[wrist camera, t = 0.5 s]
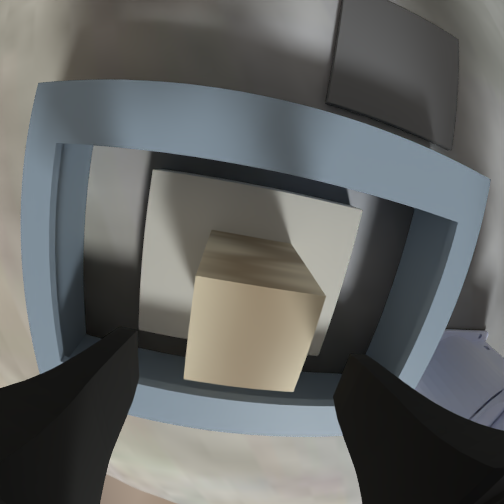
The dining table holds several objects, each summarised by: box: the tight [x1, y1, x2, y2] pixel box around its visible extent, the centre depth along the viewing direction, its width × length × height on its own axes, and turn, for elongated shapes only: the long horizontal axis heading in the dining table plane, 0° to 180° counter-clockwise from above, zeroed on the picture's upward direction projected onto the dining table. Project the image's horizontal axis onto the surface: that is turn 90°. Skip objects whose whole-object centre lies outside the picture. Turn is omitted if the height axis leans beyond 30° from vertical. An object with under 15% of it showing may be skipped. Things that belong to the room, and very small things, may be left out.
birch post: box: [184, 230, 326, 392], centre depth 14 cm, size 4×4×7 cm
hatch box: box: [21, 80, 491, 437], centre depth 16 cm, size 24×18×6 cm
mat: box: [326, 0, 459, 150], centre depth 16 cm, size 10×10×1 cm
